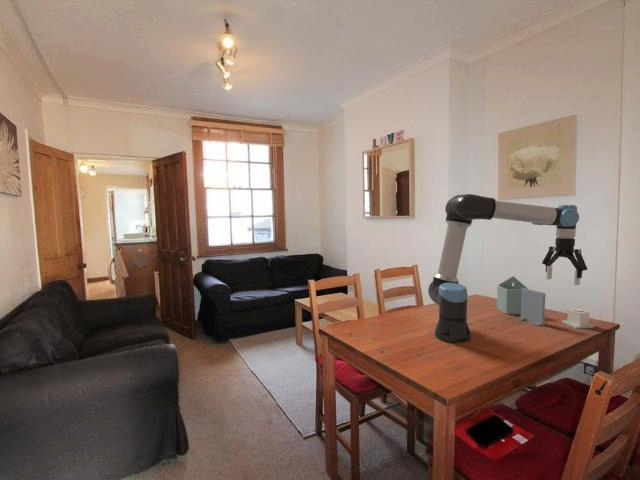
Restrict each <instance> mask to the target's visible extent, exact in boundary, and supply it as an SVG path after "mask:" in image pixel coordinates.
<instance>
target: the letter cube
mask: <svg viewBox="0 0 640 480" xmlns="http://www.w3.org/2000/svg"><path fill="white" fill-rule="evenodd" d="M566 320H567V322H569V323H573V324H576V325H579V326H581V325H587V324H590V311H587V310H583V309H580V308H571V309H568V310H567V319H566Z"/></svg>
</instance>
